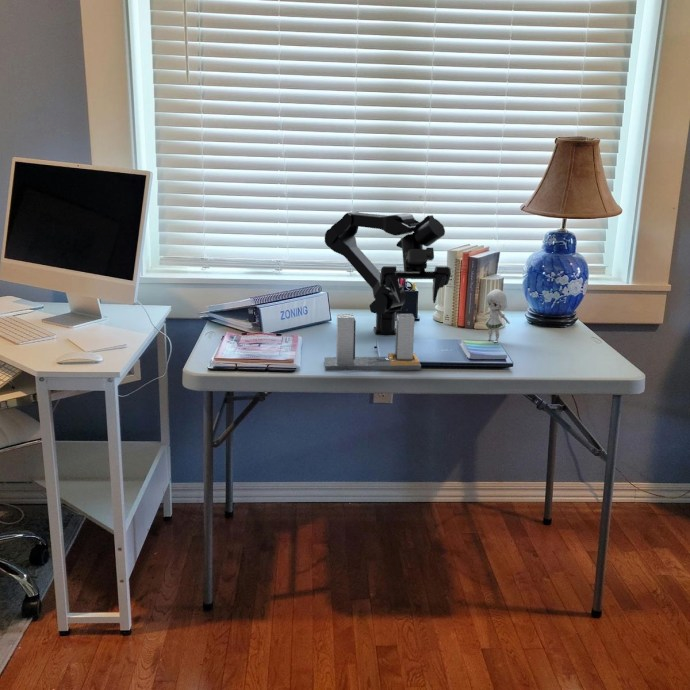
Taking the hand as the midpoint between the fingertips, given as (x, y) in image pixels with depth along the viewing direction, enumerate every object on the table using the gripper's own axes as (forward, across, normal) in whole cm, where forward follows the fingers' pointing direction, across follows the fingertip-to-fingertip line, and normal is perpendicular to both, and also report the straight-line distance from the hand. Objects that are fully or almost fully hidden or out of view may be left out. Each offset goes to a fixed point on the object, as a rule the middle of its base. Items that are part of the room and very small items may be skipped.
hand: (417, 302), depth 207 cm
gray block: (+18, -5, 0) cm, 18 cm away
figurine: (+3, +24, +16) cm, 29 cm away
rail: (+18, -13, +1) cm, 23 cm away
